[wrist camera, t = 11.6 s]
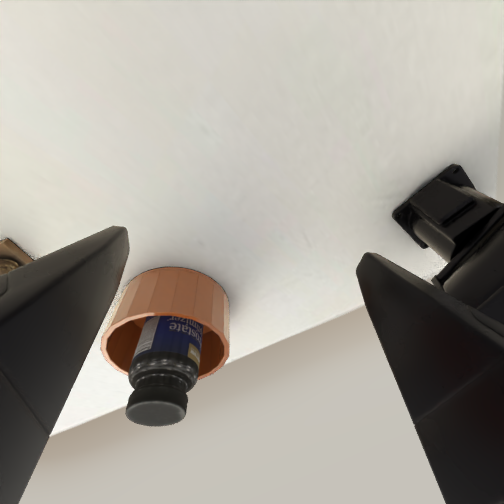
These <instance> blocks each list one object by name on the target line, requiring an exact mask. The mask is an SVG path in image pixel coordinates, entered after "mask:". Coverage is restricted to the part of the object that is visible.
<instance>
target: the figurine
mask: <svg viewBox="0 0 504 504" xmlns="http://www.w3.org/2000/svg"><path fill="white" fill-rule="evenodd" d="M32 261H33V260H32V259H31V258H30V257H29V256H28V255H27V254H25V253H24V252H23V251H22V250H21V249H20V248H18V247H17V246H16V245H15V244H14V243H13V242H11V241H10V240H9V239H5V240H2V241H0V275H2V274H5V273H6V274H8V272H9V271H12V270H14V269H16V268H18V267H21V266H23V265H25V264H28V263H30V262H32Z"/></svg>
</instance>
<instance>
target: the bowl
mask: <svg viewBox="0 0 504 504" xmlns="http://www.w3.org/2000/svg"><path fill="white" fill-rule="evenodd" d="M147 316H175V317H181V318H186V319H191V320H193V321H196V322H198V323H201V324H203V334H202V344H201V354H200V364H199V374H198V379H197V380H200V379H202V378H204V377H207V376H209V375H211V374H213V373H214V372H216V371H217V370H218V369H220V368H221V367H222V366H223V365H224V364H225V362H226V360H227V359H228V357H229V303H228V298H227V295H226V293H225V291H224V290H223V289H222V287H221V286H220V285H219V284H218V283H217V282H216V281H214V280H213V279H212V278H210V277H208V276H207V275H205V274H202V273H200V272H197V271H194V270H191V269H186V268H179V267H163V268H157V269H152V270H149V271H146V272H144V273H142V274H140V275H138V276H136V277H135V278H134V279H133V280H131V281H130V282H129V284H128V285H127V286H126V288H125V290H124V291H123V293H122V294H121V297H120V299H119V301H118V303H117V305H116V307H115V310H114V312H113V314H112V316H111V318H110V320H109V323H108V325H107V327H106V329H105V331H104V333H103V336H102V339H101V351H102V353H103V355H104V358H105V360H106V361H107V362H108V363H109V364H110V365H112V366H113V367H114V368H115V369H116V370H117V371H119V372H121V373H123V374H125V375H127V376H128V373H129V368H130V365H131V363H132V360H133V357H134V354H135V351H136V348H137V345H138V342H139V339H140V336H141V332H142V329H143V326H144V323H145V320H146V317H147Z"/></svg>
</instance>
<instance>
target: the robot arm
mask: <svg viewBox="0 0 504 504" xmlns="http://www.w3.org/2000/svg"><path fill="white" fill-rule="evenodd" d="M454 169H455V171H454ZM453 171H454V172H453ZM399 214H400V215H399ZM398 215H399V216H398ZM392 218H393V219H394V220H395V221H396V222H397V223H398V224H399V225H400V226H401V227H402V228H403V229H404V230H405V231H406V232H407V233H408V234H409V235H410V237H411V238H412V239H413V240H414V241H415V242H416V243H417V244H418V245H419V246H420V247H421V248H423V249H426V248H428V247H430V248H432V249H433V250H434V251H435V252H436V253H437V254H438V255H440V256H441V257H442V258H443V259H444V260H445V261H446V262H448V264H447V265H446V266H445V267H444V268H443V269H442V271H441V272H440V273H439V274H438V275H435V276H434V277H433V278H432V280H431V281H432V283H433V284H434V285H432V284H430V283H428V282H426V281H425V280H423V279H421V278H419V277H418V276H416V275H414V274H412V273H411V272H409V271H407V270H405V269H404V268H402V267H400V266H398V265H396V264H395V263H393V262H391V261H389V260H388V259H386V258H384V257H382V256H381V255H379V254H377V253H370V252H367V253H365V254H364V255H363V257H362V259H361V261H360V263H359V264H358V266H357V269H356V275H357V278H358V282H359V285H360V289H361V292H362V296H363V299H364V302H365V306H366V308H367V311H368V313H369V316H370V318H371V321H372V323H373V326H374V328H375V330H376V333H377V335H378V338H379V340H380V343H381V345H382V348H383V350H384V353H385V355H386V357H387V360H388V362H389V365H390V367H391V370H392V372H393V374H394V377H395V380H396V382H397V384H398V387H399V389H400V391H401V394H402V397H403V399H404V402H405V404H406V406H407V409H408V411H409V414H410V416H411V419H412V421H413V424H415V429H416V431H417V434H418V436H419V439H420V441H421V444H422V446H423V449H424V451H425V453H426V456H427V458H428V461H429V463H430V466H431V468H432V471H433V473H434V475H435V478H436V481H437V483H438V485H439V488H440V490H441V493H442V495H443V498H444V500H445V503H446V504H504V204H503V203H501V202H499V201H497V200H495V199H493V198H490V197H488V196H486V195H484V194H482V193H480V192H478V191H477V190H476V189H475V187H474V185H473V184H472V182H471V181H470V179H469V178H468V176H467V174H466V173H465V171H464V170H463V168H462V167H461V166H460V165H458V164H453V165H451V166H450V167H448V168H447V169H446V170H445V171H443V172H442V173H441V174H440V175H439V176H437V177H436V178H435V179H434V180H432V181H431V182H430V183H429V184H428V185H426V186H425V187H424V188H423V189H421V190H420V191H419V192H418V193H417V194H415V195H414V196H413V197H412V198H410V199H409V200H408V201H407V202H406V203H404V204H403V205H402V206H401V207H399V208H398V209H397V210H396V211H395V212H394V213H393V214H392ZM128 255H129V239H128V232H127V229H126V228H125V227H120V226H112V227H109V228H107V229H105V230H102V231H100V232H98V233H96V234H93V235H91V236H89V237H87V238H84V239H82V240H80V241H77V242H75V243H73V244H71V245H68V246H66V247H64V248H62V249H59V250H57V251H55V252H53V253H50V254H48V255H46V256H43V257H41V258H39V259H37V260H34V261H32V262H30V263H28V264H25V265H23V266H21V267H18V268H16V269H14V270H12V271H9V272H8V274H6V273H5V274H2V275H0V504H18V503H19V501H20V499H21V497H22V495H23V493H24V491H25V488H26V486H27V484H28V482H29V480H30V478H31V475H32V473H33V471H34V469H35V467H36V465H37V463H38V460H39V458H40V456H41V454H42V452H43V449H44V447H45V445H46V443H47V441H48V439H49V435H50V434H51V432H52V430H53V428H54V426H55V423H56V421H57V419H58V417H59V415H60V413H61V411H62V408H63V406H64V404H65V402H66V400H67V398H68V396H69V393H70V391H71V389H72V387H73V385H74V383H75V381H76V378H77V376H78V374H79V372H80V370H81V368H82V365H83V363H84V361H85V359H86V357H87V355H88V353H89V350H90V348H91V346H92V344H93V342H94V340H95V338H96V335H97V333H98V331H99V329H100V327H101V325H102V322H103V320H104V318H105V316H106V314H107V312H108V310H109V307H110V305H111V303H112V301H113V299H114V297H115V294H116V292H117V290H118V287H119V284H120V281H121V277H122V274H123V271H124V268H125V265H126V261H127V258H128Z"/></svg>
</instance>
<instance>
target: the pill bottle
mask: <svg viewBox="0 0 504 504" xmlns="http://www.w3.org/2000/svg"><path fill="white" fill-rule="evenodd" d="M202 334H203V324H201V323H198V322H196V321H193V320H191V319H186V318H181V317H175V316H147V317H146V320H145V323H144V326H143V329H142V332H141V336H140V339H139V342H138V345H137V348H136V351H135V354H134V357H133V360H132V363H131V365H130V368H129V373H128V378H129V382H130V384H131V386H132V387H133V388H134V389H135V390H134V391H133V393H132V394H131V395H130V397H129V400H128V404H127V408H126V416H127V418H128V419H129V420H131V421H133V422H134V423H137V424H141V425H146V426H167V425H172V424H175V423H178V422H180V421H181V420H182V419H184V417H185V415H186V409H187V403H188V397H187V395H186V392H188V391H190V390H191V389H192V388H193V387H194V385H195V384H196V382H197V379H198V374H199V364H200V354H201V344H202Z"/></svg>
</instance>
